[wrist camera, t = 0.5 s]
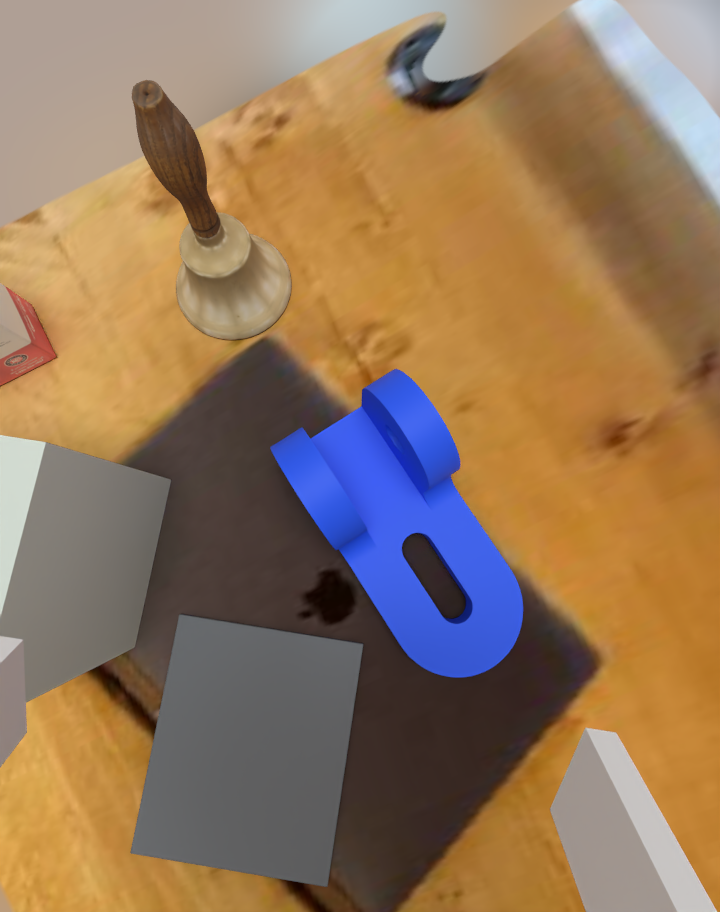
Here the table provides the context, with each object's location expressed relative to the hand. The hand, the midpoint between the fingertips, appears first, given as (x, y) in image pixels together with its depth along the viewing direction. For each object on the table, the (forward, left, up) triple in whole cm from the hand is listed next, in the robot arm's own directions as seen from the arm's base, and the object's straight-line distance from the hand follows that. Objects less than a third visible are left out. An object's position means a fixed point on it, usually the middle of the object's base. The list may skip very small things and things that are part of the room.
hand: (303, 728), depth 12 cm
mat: (-9, +4, -21) cm, 23 cm away
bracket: (+5, -4, -22) cm, 22 cm away
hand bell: (+21, +11, -21) cm, 32 cm away
